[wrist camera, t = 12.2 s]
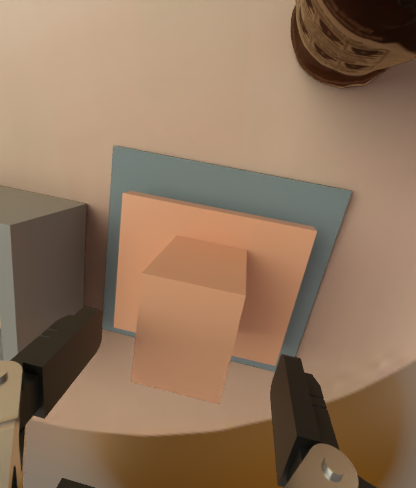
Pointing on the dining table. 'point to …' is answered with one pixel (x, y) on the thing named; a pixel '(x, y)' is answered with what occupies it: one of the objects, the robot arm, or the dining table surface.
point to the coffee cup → (352, 38)
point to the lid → (204, 289)
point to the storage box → (38, 265)
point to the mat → (236, 199)
